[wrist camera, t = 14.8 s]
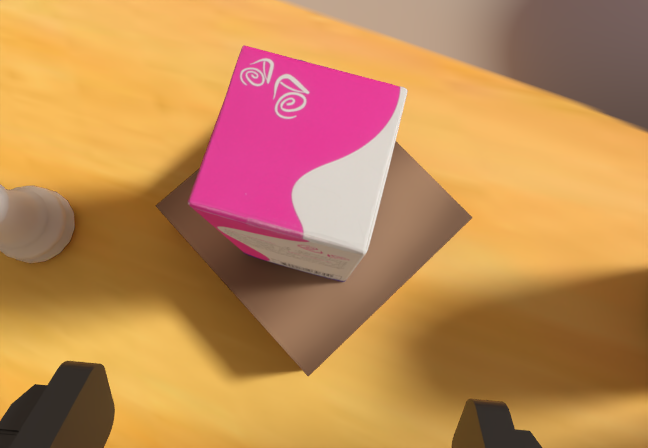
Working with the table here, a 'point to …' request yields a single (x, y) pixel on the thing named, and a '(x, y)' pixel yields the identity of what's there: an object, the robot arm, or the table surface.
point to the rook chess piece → (34, 223)
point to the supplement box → (299, 162)
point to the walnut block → (322, 293)
